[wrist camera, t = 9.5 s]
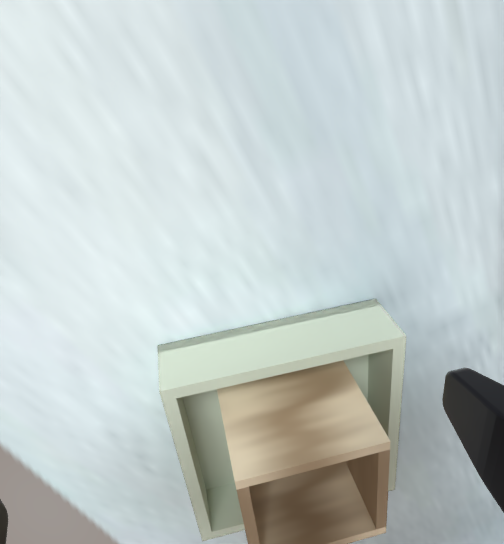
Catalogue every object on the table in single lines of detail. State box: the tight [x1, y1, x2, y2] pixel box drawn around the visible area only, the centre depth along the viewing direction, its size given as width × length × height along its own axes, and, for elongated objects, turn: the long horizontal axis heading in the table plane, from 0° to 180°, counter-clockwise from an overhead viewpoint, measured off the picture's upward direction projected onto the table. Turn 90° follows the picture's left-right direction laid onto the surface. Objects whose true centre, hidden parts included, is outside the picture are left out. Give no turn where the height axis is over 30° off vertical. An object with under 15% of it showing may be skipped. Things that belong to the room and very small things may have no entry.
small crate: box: [217, 360, 391, 544], centre depth 22 cm, size 6×6×6 cm
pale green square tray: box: [158, 299, 406, 541], centre depth 24 cm, size 11×11×3 cm
